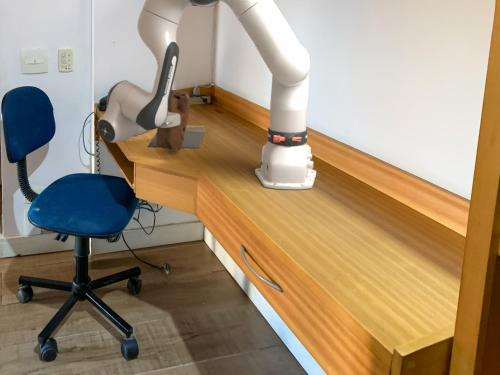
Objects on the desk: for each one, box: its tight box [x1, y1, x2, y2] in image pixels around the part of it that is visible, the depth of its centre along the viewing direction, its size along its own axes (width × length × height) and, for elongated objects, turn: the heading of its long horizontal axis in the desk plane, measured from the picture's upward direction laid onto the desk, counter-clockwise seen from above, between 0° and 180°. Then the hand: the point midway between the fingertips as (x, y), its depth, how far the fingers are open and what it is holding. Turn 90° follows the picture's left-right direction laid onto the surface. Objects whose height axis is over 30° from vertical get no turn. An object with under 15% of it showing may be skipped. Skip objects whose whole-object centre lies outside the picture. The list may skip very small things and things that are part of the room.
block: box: [155, 89, 191, 151], centre depth 204 cm, size 11×8×20 cm
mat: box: [147, 131, 205, 149], centre depth 222 cm, size 24×18×1 cm
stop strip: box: [185, 124, 206, 133], centre depth 235 cm, size 2×18×2 cm, turn 90°
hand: (164, 112), depth 200 cm, fingers closed
